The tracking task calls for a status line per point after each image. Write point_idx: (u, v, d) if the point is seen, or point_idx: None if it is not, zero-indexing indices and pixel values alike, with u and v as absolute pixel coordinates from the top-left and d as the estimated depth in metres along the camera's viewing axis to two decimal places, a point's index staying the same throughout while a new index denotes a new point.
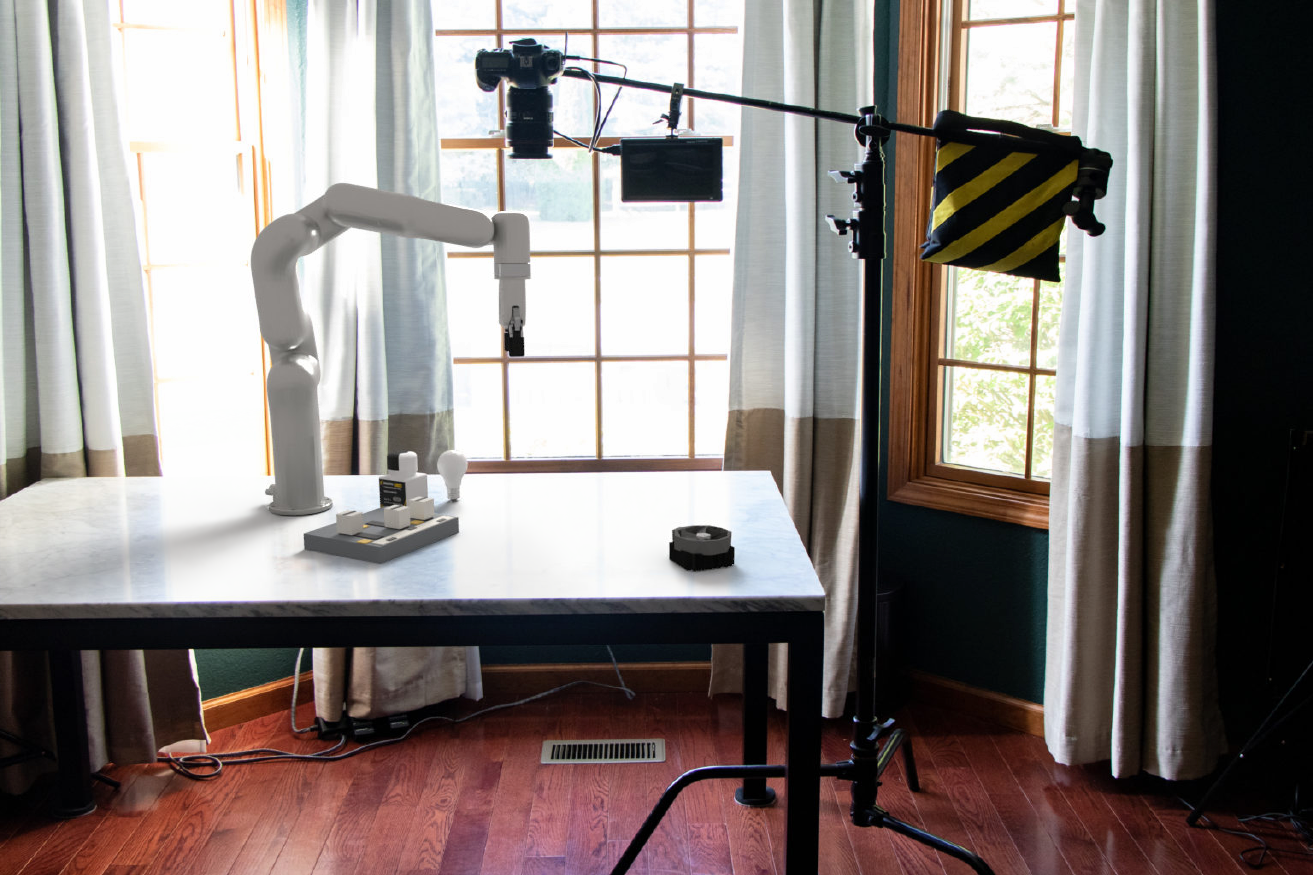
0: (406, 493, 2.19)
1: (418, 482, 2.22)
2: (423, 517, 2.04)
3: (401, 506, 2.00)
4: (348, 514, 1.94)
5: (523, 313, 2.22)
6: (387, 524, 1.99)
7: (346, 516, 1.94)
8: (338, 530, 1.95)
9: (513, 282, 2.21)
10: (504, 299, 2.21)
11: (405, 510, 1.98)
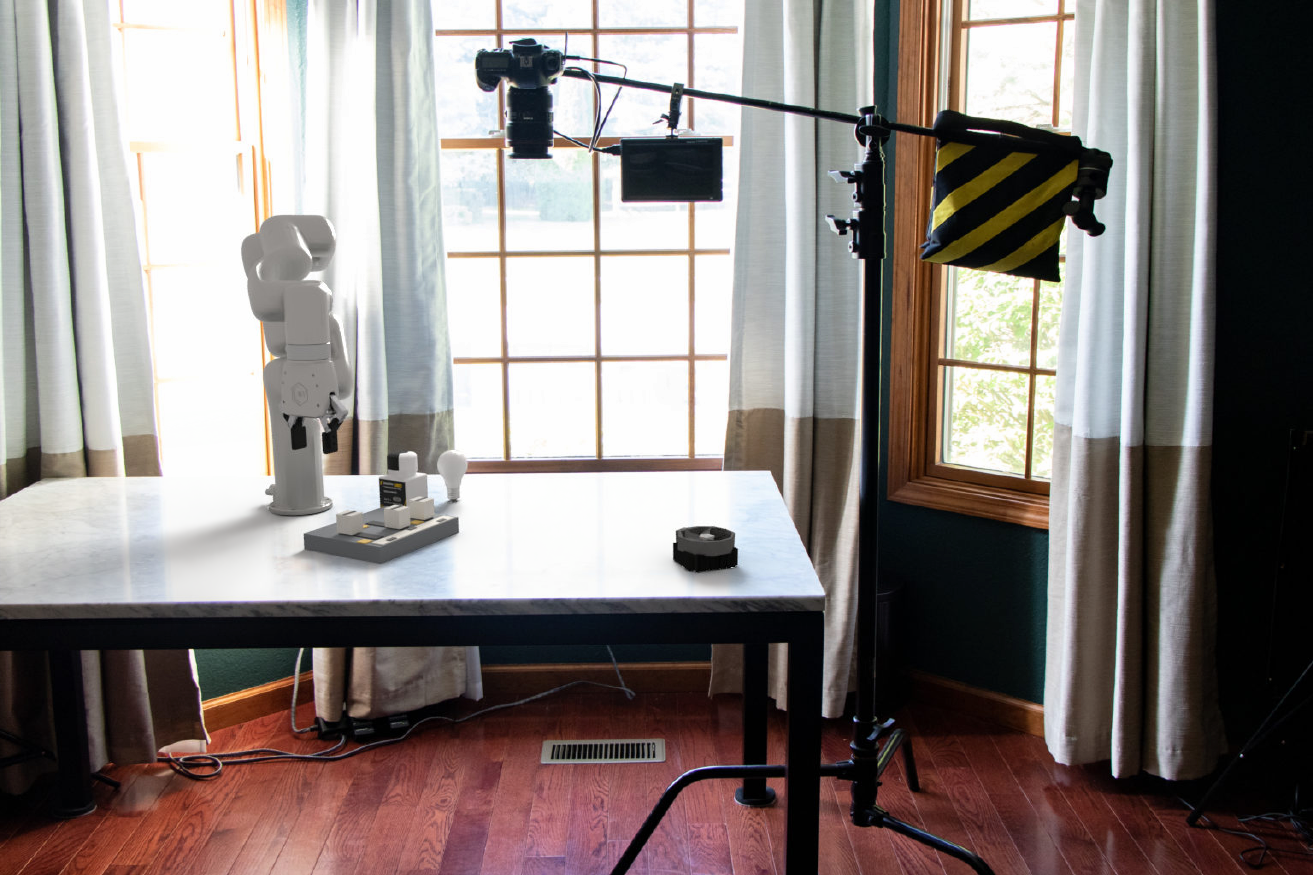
0: (406, 493, 2.19)
1: (418, 482, 2.22)
2: (423, 517, 2.04)
3: (401, 506, 2.00)
4: (348, 514, 1.94)
5: (338, 399, 1.94)
6: (387, 524, 1.99)
7: (346, 516, 1.94)
8: (338, 530, 1.95)
9: (327, 365, 1.91)
10: (321, 386, 1.90)
11: (405, 510, 1.98)
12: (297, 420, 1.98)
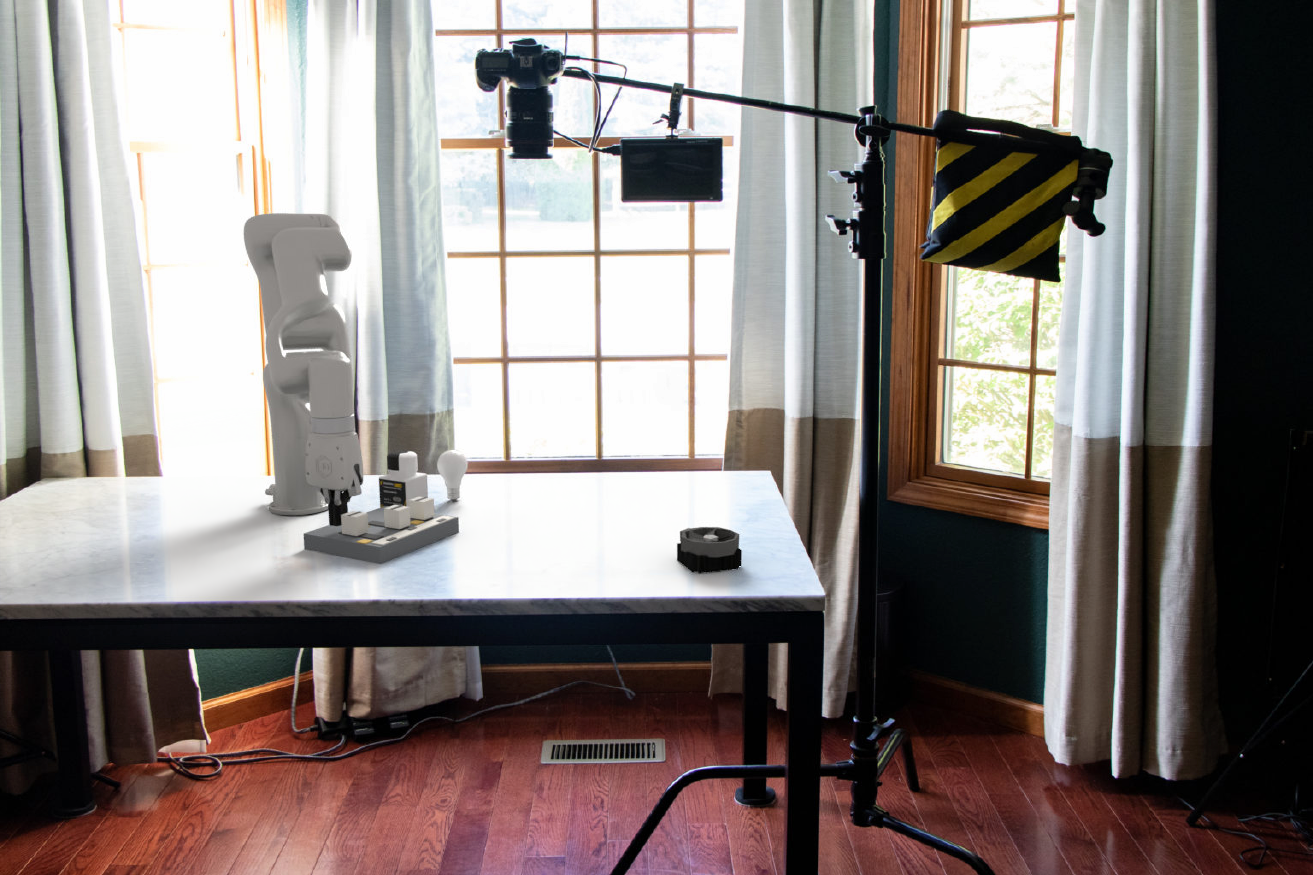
0: (406, 493, 2.19)
1: (418, 482, 2.22)
2: (423, 517, 2.04)
3: (401, 506, 2.00)
4: (353, 515, 1.94)
5: (362, 471, 1.94)
6: (387, 524, 1.99)
7: (351, 517, 1.93)
8: (343, 531, 1.94)
9: (351, 438, 1.91)
10: (345, 459, 1.90)
11: (405, 510, 1.98)
12: (334, 495, 1.96)
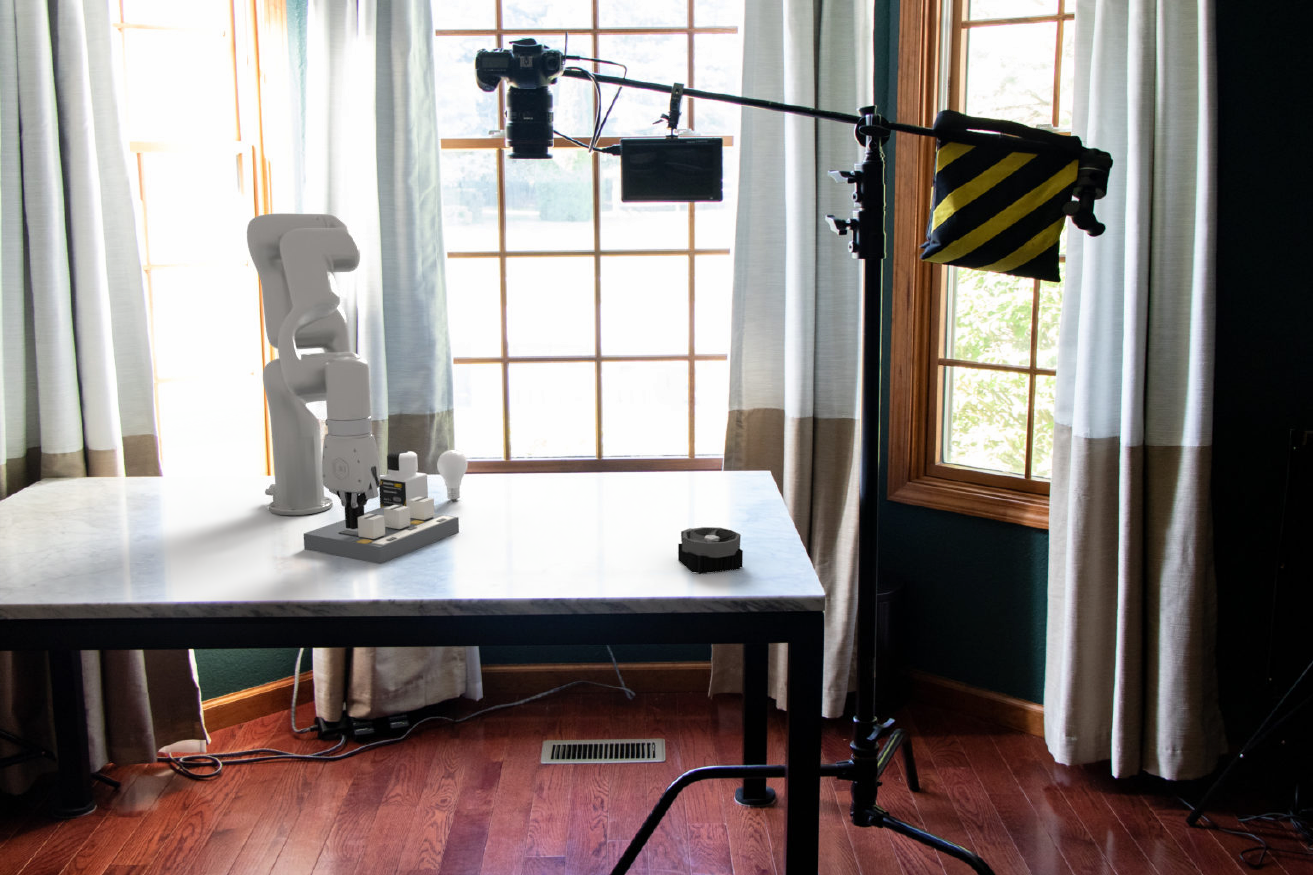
0: (406, 493, 2.19)
1: (418, 482, 2.22)
2: (423, 517, 2.04)
3: (401, 506, 2.00)
4: (370, 518, 1.92)
5: (379, 473, 1.92)
6: (387, 524, 1.99)
7: (368, 520, 1.91)
8: (360, 534, 1.93)
9: (368, 440, 1.89)
10: (363, 461, 1.88)
11: (405, 510, 1.98)
12: (351, 498, 1.95)
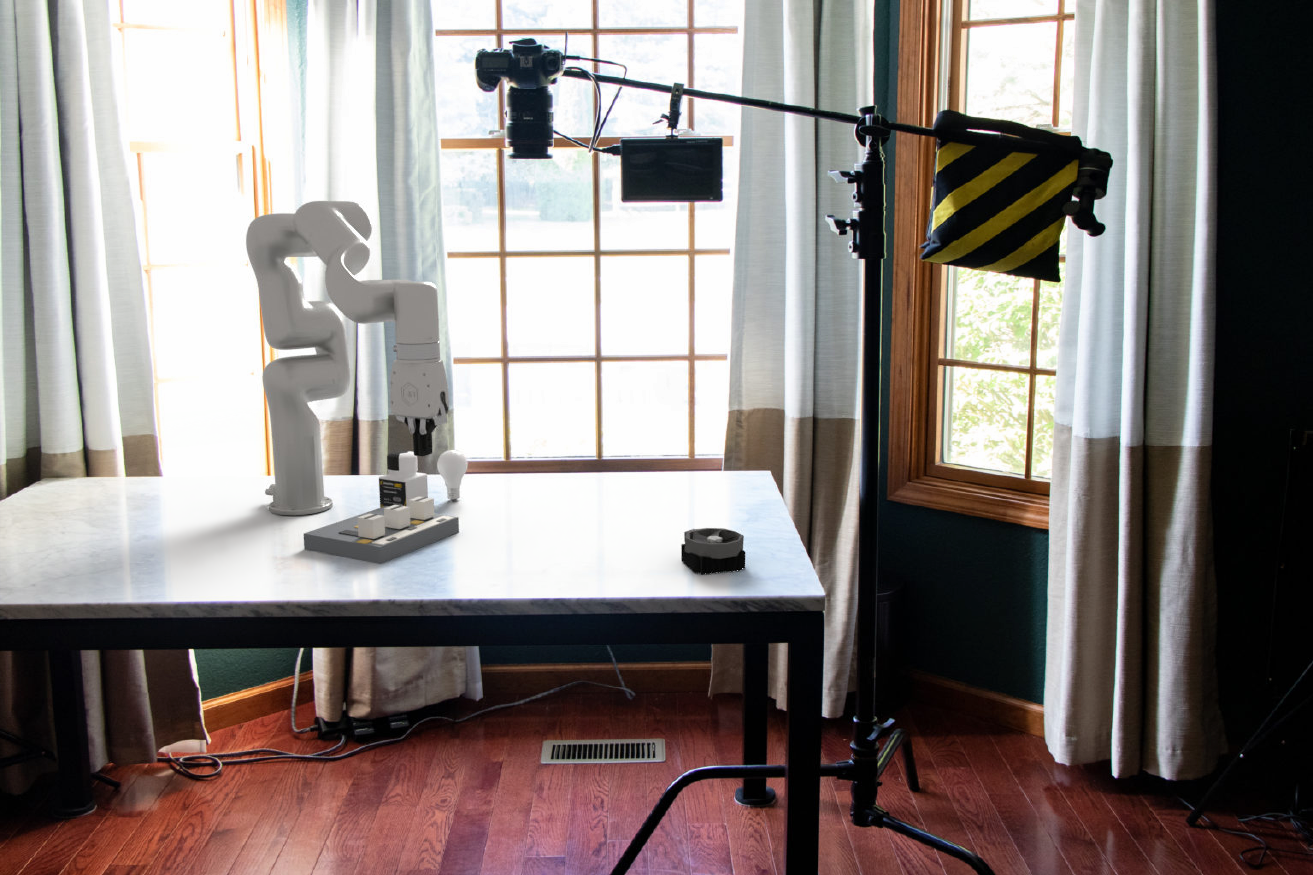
0: (406, 493, 2.19)
1: (419, 482, 2.22)
2: (423, 517, 2.04)
3: (401, 506, 2.00)
4: (370, 518, 1.92)
5: (448, 399, 1.90)
6: (387, 524, 1.99)
7: (368, 520, 1.91)
8: (359, 534, 1.93)
9: (437, 365, 1.88)
10: (432, 385, 1.87)
11: (405, 510, 1.98)
12: (419, 425, 1.93)
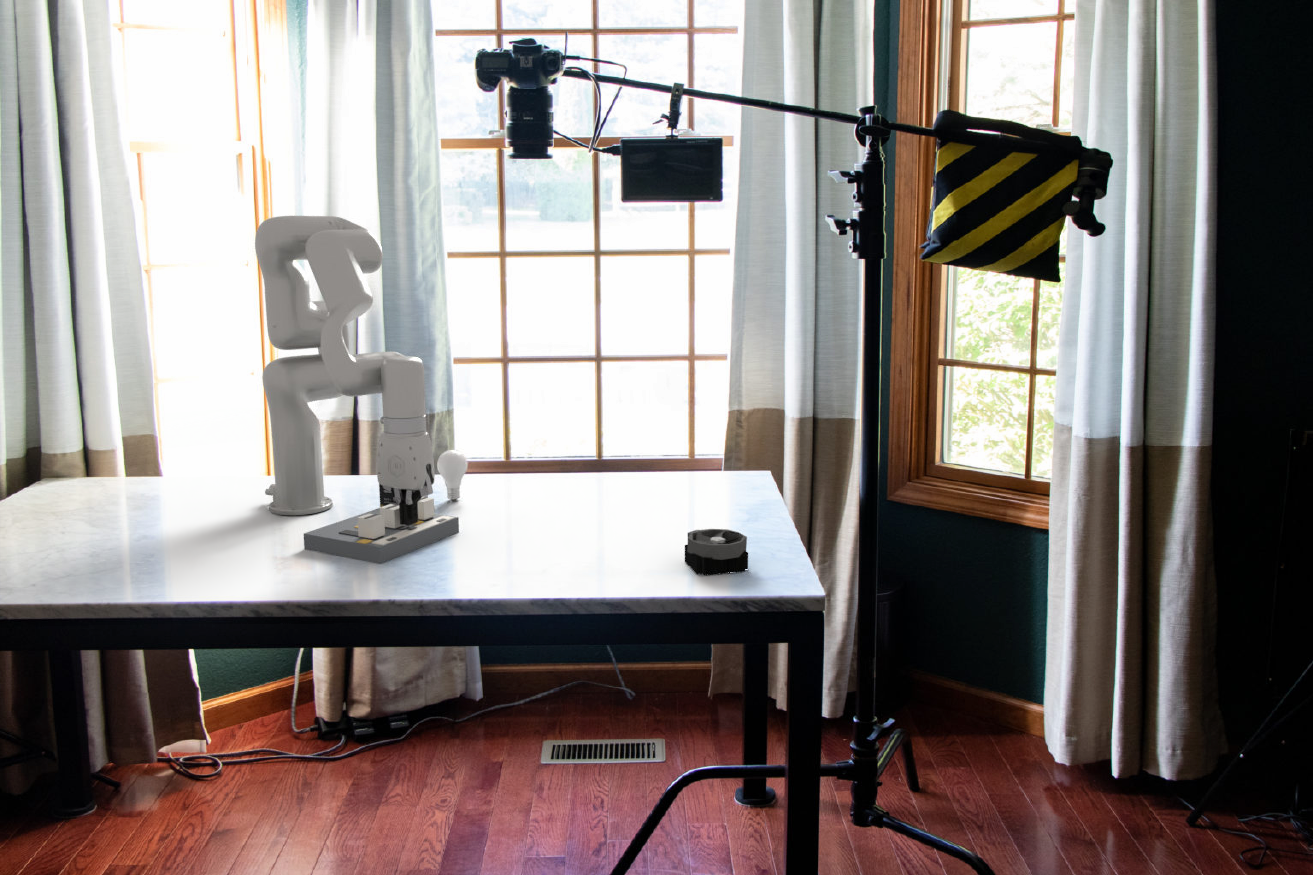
0: None
1: None
2: (423, 517, 2.04)
3: (396, 505, 2.00)
4: (370, 518, 1.92)
5: None
6: None
7: (368, 520, 1.91)
8: (359, 534, 1.93)
9: (424, 438, 1.93)
10: (418, 459, 1.92)
11: None
12: (405, 495, 1.98)
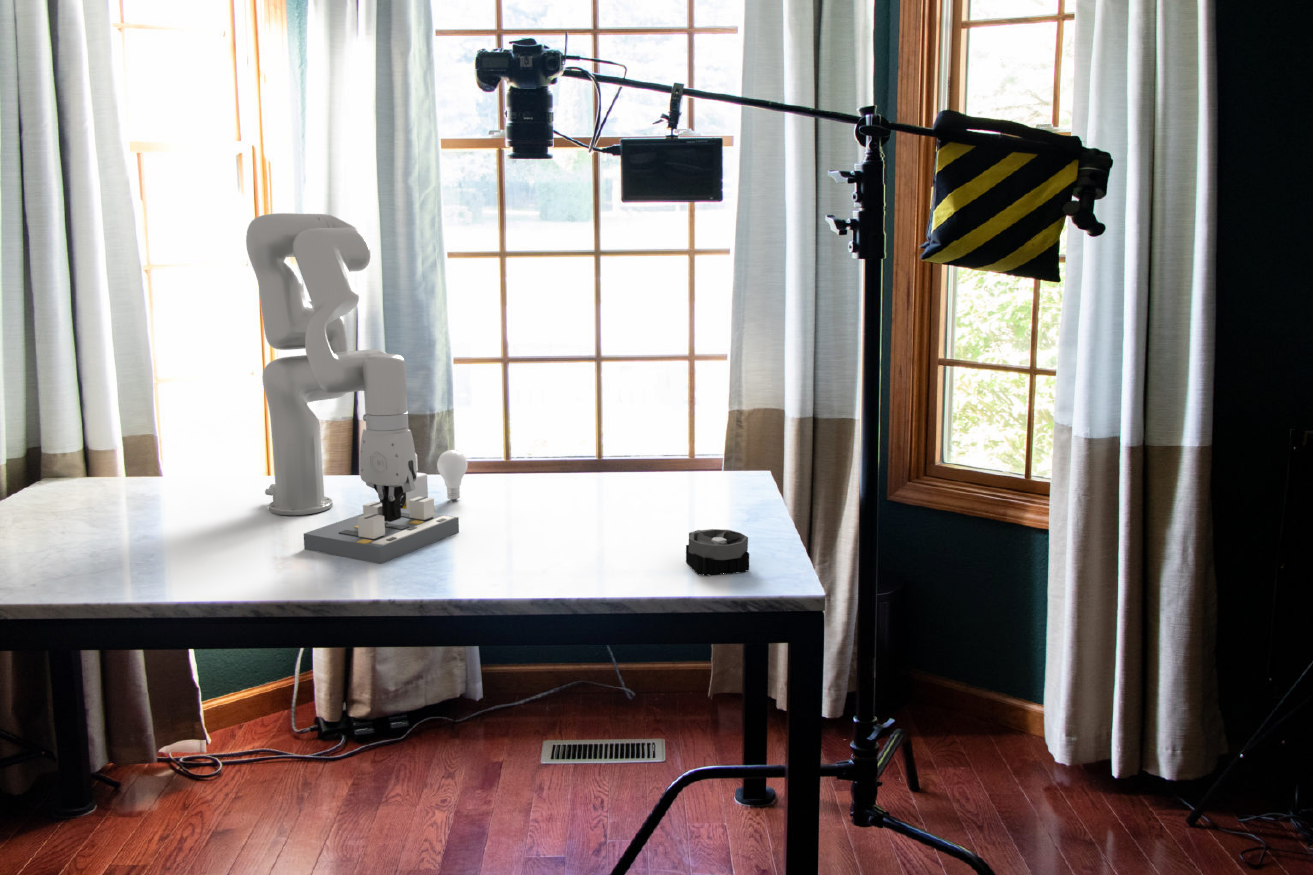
0: (406, 493, 2.19)
1: (418, 482, 2.22)
2: (423, 517, 2.04)
3: (380, 503, 2.02)
4: (370, 518, 1.92)
5: (416, 467, 1.97)
6: None
7: (368, 520, 1.91)
8: (359, 534, 1.93)
9: (406, 435, 1.94)
10: (400, 455, 1.93)
11: None
12: (388, 491, 2.00)
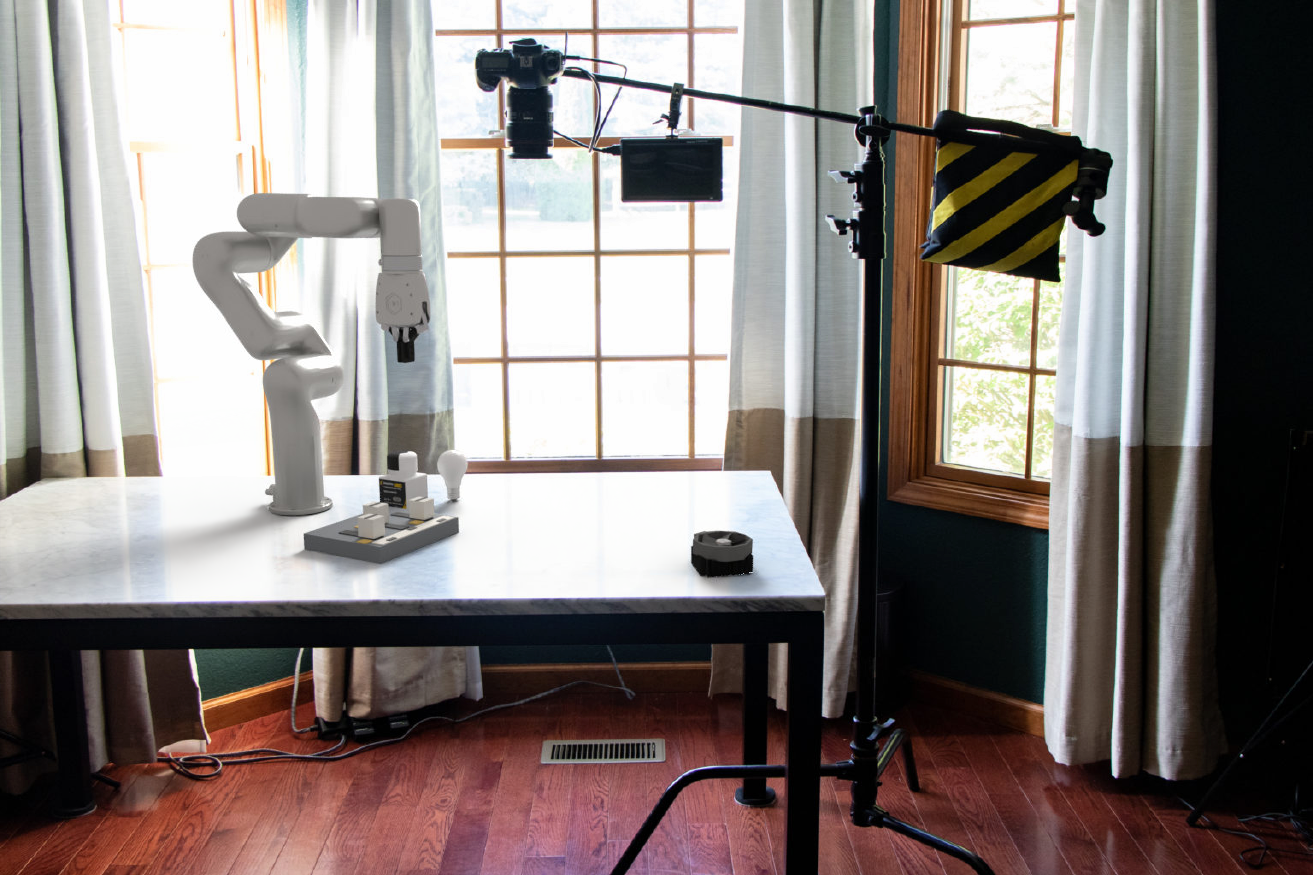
0: (406, 493, 2.19)
1: (418, 482, 2.22)
2: (423, 517, 2.04)
3: (380, 503, 2.02)
4: (370, 518, 1.92)
5: (429, 309, 2.05)
6: None
7: (368, 520, 1.91)
8: (359, 534, 1.93)
9: (420, 276, 2.02)
10: (415, 295, 2.01)
11: (383, 507, 2.01)
12: (402, 334, 2.07)
